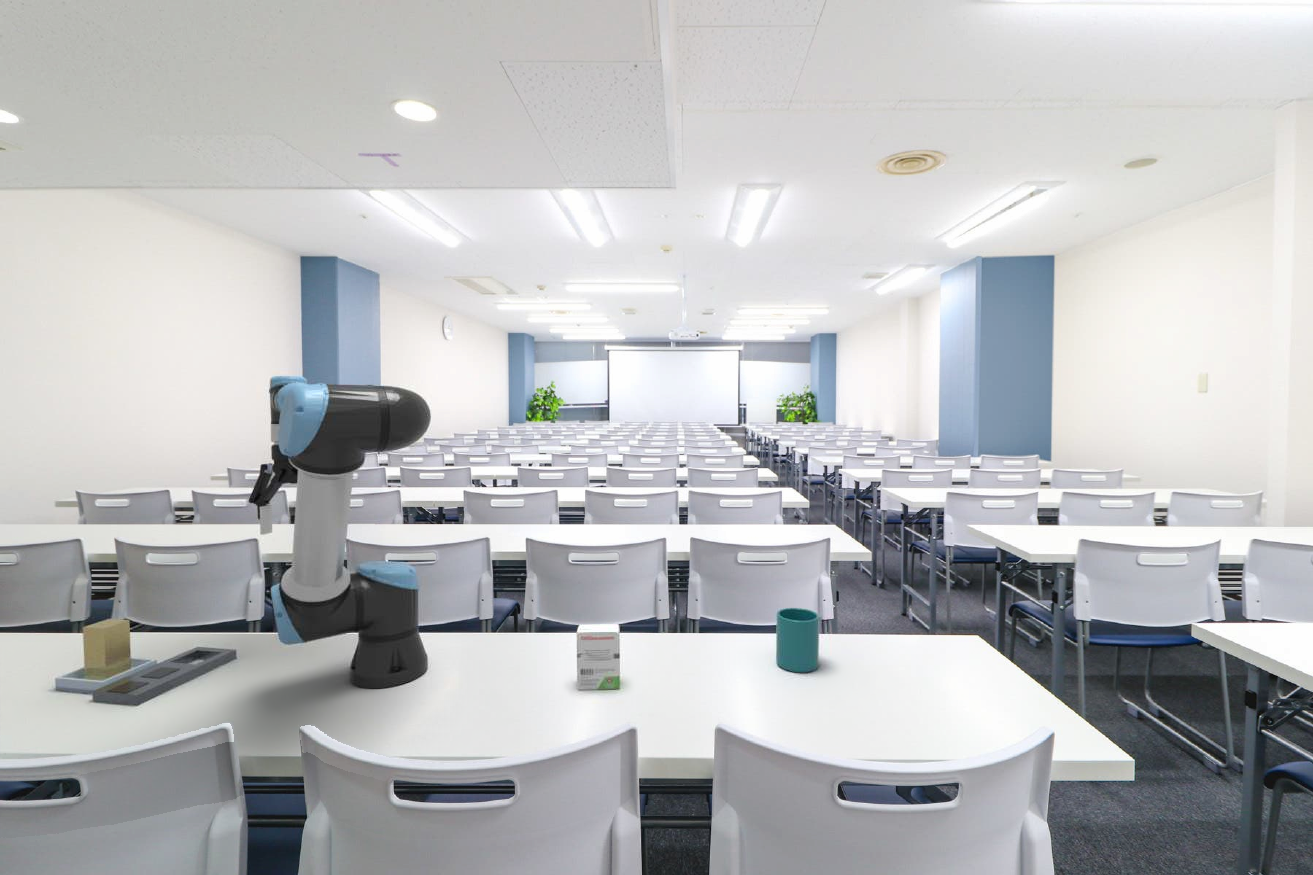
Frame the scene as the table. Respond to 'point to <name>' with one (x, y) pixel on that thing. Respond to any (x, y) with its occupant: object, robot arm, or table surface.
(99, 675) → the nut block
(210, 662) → the grey slotted plate
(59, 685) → the tray
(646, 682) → the table surface
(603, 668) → the ink box
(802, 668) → the cup
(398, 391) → the robot arm
